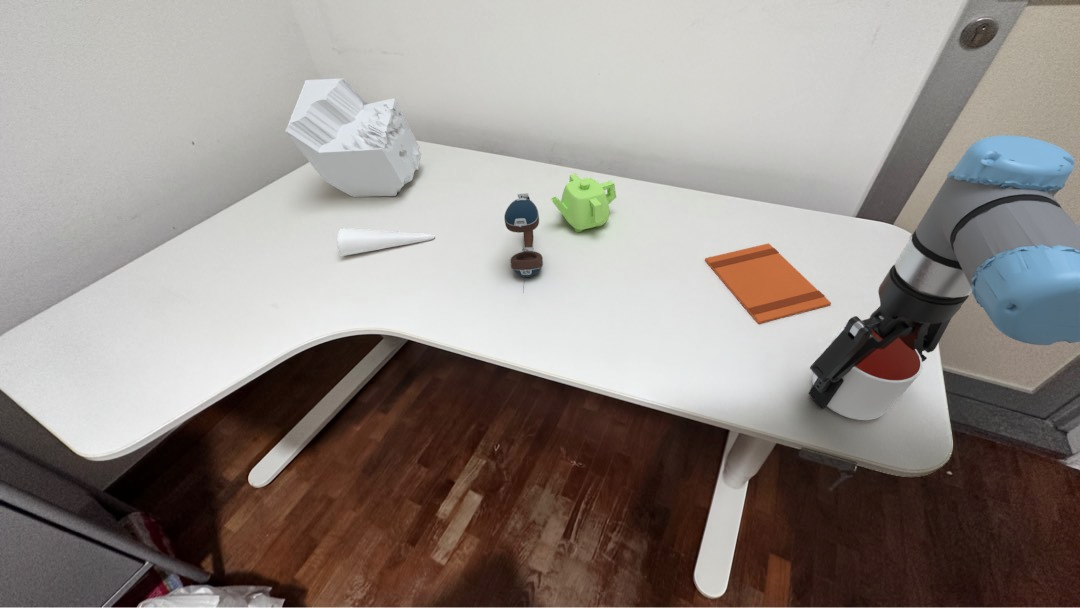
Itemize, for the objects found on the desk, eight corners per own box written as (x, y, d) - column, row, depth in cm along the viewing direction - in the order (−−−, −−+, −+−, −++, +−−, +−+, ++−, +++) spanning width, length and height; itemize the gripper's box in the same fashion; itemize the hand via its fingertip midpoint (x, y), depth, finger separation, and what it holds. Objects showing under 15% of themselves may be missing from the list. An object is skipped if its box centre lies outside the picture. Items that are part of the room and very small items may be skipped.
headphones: (542, 305, 83) (544, 241, 100) (536, 233, 73) (539, 176, 90) (508, 307, 83) (516, 243, 100) (497, 235, 74) (508, 177, 91)
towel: (830, 305, 80) (831, 302, 79) (758, 324, 78) (759, 321, 77) (767, 245, 92) (768, 242, 92) (704, 260, 90) (705, 257, 90)
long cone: (433, 261, 98) (341, 261, 97) (436, 245, 103) (349, 245, 102) (430, 238, 95) (334, 238, 94) (434, 223, 100) (343, 222, 99)
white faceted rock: (427, 155, 124) (390, 75, 101) (417, 203, 117) (375, 128, 95) (356, 157, 126) (305, 79, 104) (342, 204, 120) (285, 131, 97)
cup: (818, 356, 72) (844, 313, 65) (891, 385, 68) (927, 342, 61) (801, 402, 67) (827, 359, 60) (879, 436, 62) (917, 395, 55)
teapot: (571, 202, 108) (570, 164, 101) (617, 211, 104) (619, 172, 97) (550, 230, 101) (548, 191, 94) (600, 241, 97) (601, 201, 90)
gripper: (983, 237, 55) (894, 353, 71) (819, 278, 52) (764, 390, 68) (1047, 276, 50) (936, 391, 66) (869, 325, 47) (797, 433, 63)
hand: (848, 391), depth 67 cm, fingers closed on cup, 10 cm apart
